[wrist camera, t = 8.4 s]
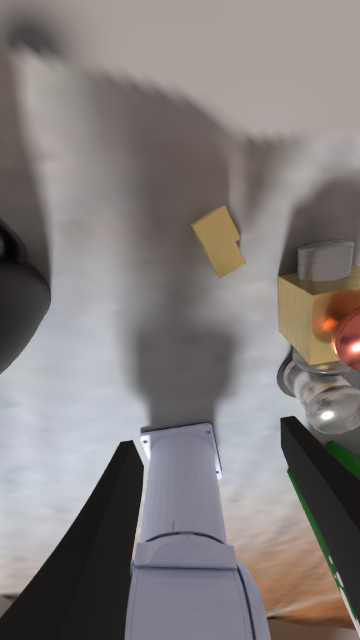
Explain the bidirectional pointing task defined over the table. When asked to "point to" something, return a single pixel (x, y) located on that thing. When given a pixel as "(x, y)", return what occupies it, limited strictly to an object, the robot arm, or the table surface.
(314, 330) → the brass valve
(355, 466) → the milk carton
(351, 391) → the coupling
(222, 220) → the elbow
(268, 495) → the table surface
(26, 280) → the mug
